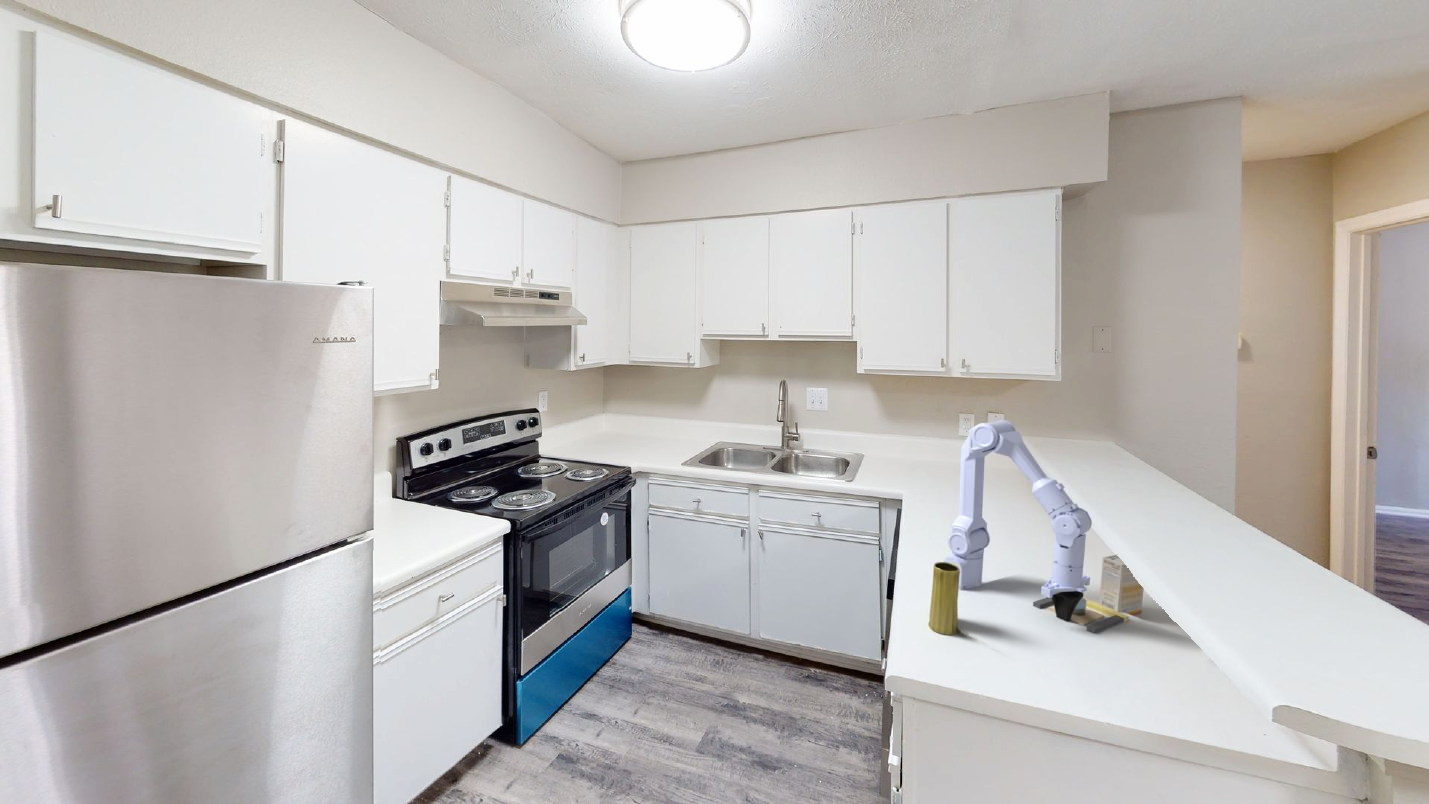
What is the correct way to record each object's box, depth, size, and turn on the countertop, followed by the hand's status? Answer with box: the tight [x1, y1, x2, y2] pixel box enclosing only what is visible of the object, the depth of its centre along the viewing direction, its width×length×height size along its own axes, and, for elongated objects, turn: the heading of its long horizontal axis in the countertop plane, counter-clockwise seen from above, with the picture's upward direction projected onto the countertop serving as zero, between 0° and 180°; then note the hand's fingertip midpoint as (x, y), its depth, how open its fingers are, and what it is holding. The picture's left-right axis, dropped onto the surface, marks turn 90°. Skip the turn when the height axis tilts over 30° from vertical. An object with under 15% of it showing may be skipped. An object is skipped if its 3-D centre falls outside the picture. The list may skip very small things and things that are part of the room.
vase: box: [928, 561, 960, 636], centre depth 124 cm, size 6×6×14 cm
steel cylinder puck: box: [1073, 597, 1087, 616], centre depth 129 cm, size 4×4×3 cm
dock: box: [1032, 596, 1129, 634], centre depth 129 cm, size 13×14×2 cm
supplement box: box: [1098, 554, 1145, 616], centre depth 132 cm, size 8×5×13 cm, turn 109°
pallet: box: [1047, 605, 1105, 627], centre depth 129 cm, size 8×8×2 cm
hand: (1062, 620), depth 126 cm, fingers closed
